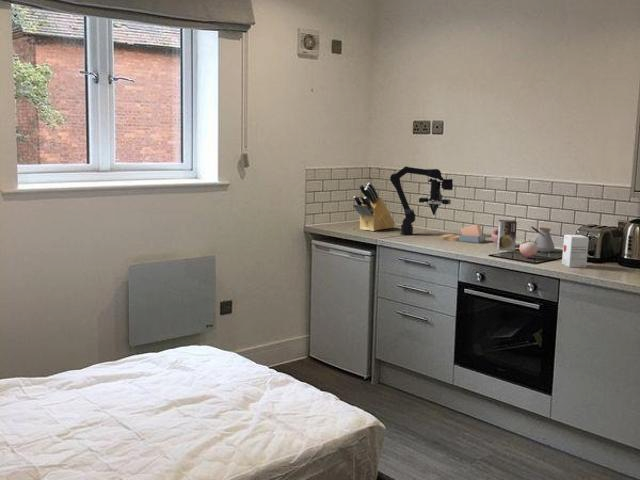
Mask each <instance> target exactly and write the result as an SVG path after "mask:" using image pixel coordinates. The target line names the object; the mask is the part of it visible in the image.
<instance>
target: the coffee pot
mask: <svg viewBox="0 0 640 480" xmlns="http://www.w3.org/2000/svg"><path fill="white" fill-rule="evenodd" d="M530 228H531V229H530ZM528 230H531V231H532V230H534V231H535V232H537V233H538V234H537V236H536V239H535V240H534V243H535V242H536V243H537V244H536V245H537V246H538V251H540V252H539V253H543V252H549V253H551V252H552V251H554V249H555V244H554V241H553V238H552V235H551V230H552V228H549V227H539V228H538V229H537V228H535V227H533V226H530V227H529V229H528Z"/></svg>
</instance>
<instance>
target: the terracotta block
mask: <svg viewBox="0 0 640 480" xmlns="http://www.w3.org/2000/svg"><path fill="white" fill-rule="evenodd" d="M460 232H461V235H469V236H481V235H483V234H484V233H483V231H482V226H481V224H480V223H476V224H473V225H468V226H464V227H461V228H460Z"/></svg>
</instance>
